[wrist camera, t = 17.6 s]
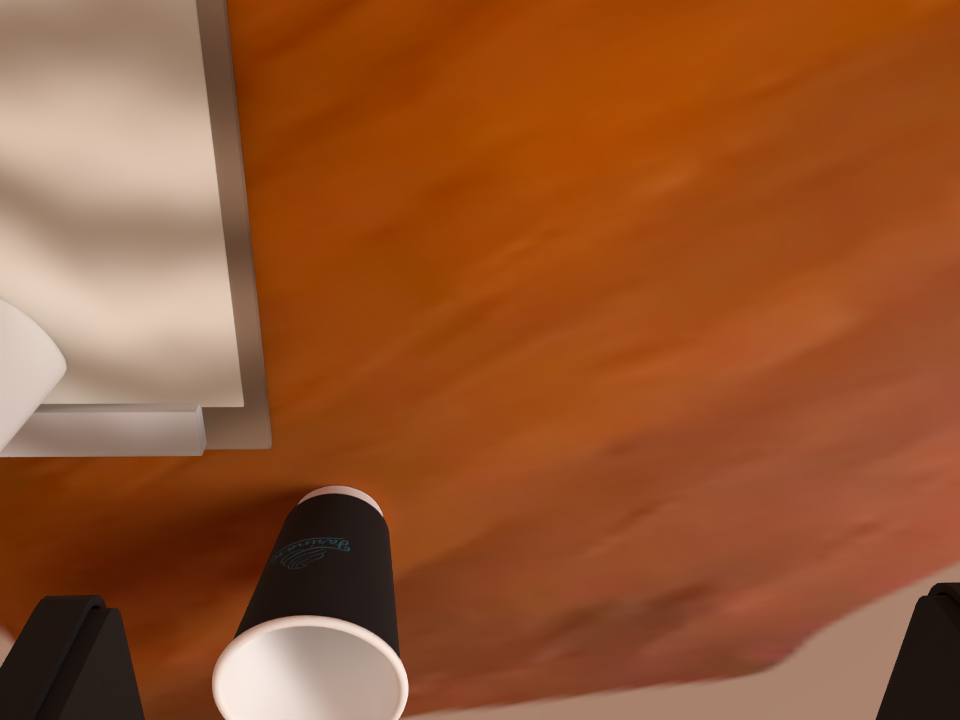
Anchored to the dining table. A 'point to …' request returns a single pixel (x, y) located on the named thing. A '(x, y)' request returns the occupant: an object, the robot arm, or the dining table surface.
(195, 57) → the clipboard
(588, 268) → the dining table surface
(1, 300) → the eye dropper bottle
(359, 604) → the dixie cup
